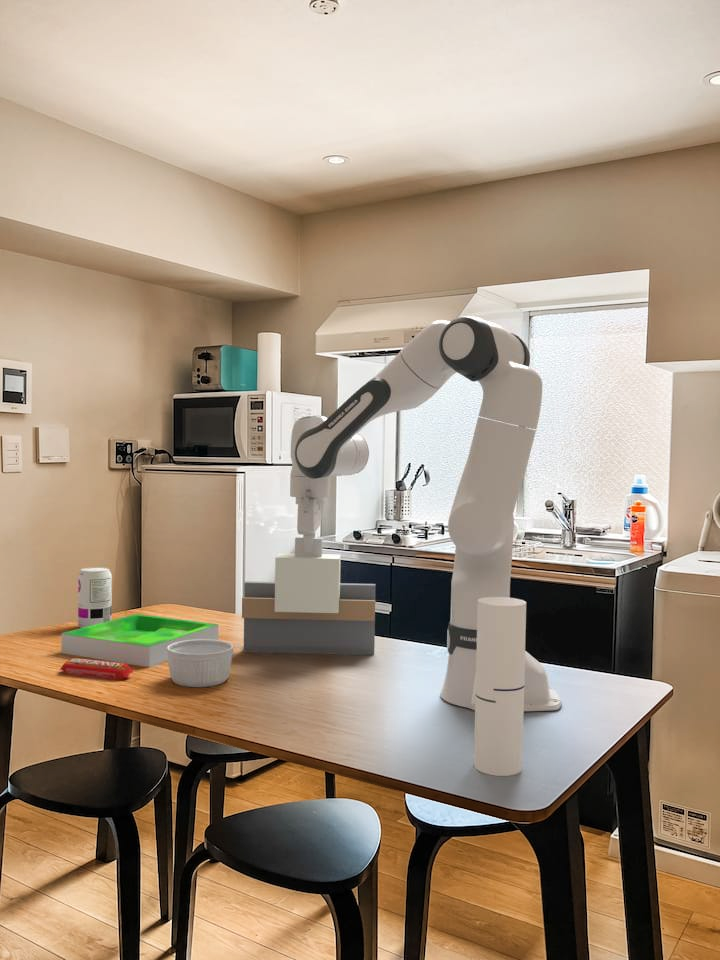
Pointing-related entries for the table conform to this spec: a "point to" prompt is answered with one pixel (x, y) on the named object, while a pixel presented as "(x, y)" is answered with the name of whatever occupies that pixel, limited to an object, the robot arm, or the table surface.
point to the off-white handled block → (307, 580)
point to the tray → (134, 638)
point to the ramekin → (199, 662)
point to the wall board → (309, 623)
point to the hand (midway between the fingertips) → (309, 550)
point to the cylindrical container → (499, 685)
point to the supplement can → (94, 596)
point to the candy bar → (96, 669)
